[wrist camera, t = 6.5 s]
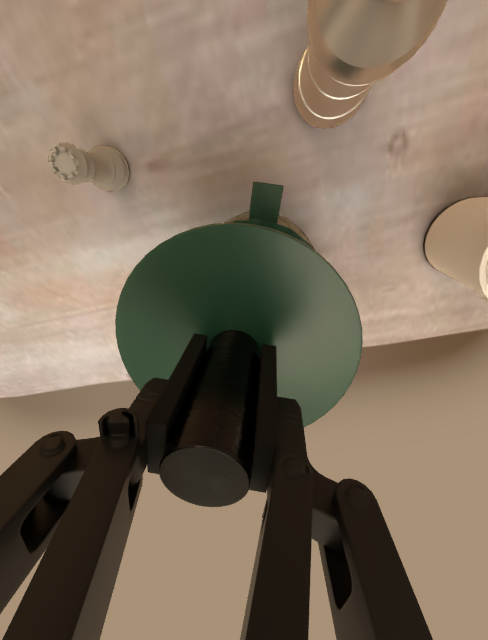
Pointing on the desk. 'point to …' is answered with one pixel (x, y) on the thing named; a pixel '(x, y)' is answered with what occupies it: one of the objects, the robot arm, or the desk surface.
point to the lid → (235, 343)
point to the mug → (461, 243)
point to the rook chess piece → (90, 166)
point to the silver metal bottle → (356, 52)
